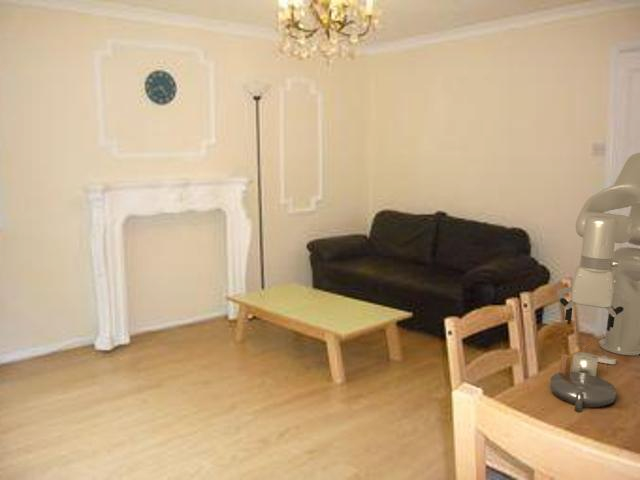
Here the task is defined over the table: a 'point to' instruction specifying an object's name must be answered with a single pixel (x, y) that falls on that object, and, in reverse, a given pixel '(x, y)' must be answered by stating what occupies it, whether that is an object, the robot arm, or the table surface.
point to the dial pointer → (579, 401)
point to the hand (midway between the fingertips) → (588, 326)
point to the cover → (585, 363)
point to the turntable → (581, 385)
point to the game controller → (606, 360)
